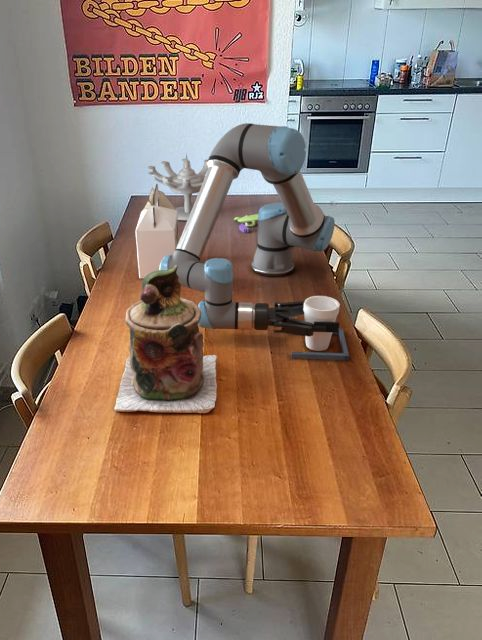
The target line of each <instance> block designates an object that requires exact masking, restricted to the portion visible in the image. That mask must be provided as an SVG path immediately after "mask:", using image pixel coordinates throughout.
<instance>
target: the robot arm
mask: <svg viewBox="0 0 482 640" xmlns="http://www.w3.org/2000/svg"><path fill="white" fill-rule="evenodd" d="M304 138H305V137H304V136H303V134H302V133H301V132H300V131H299V130H297V128H293V127H288V126H285V125H284V126H283V125H282V126H280V125H267V124H256V123H247V122H246V123H240V124H239V125H236V126H234V127H232V128H231V129H230V130H228V131H227V132H226V133H225V134H224V135H222V137H221V138H220V139H219V140H218V141H217V142H216V144H215V146H214V147H213V149H212V151H211V152H210V155H209V157H208V159H207V160H208V161H207V167H208V171H207V172H206V174H205V179H204V181H203V183H202V186H201V188H200V191H199V192H198V193H197V196H196V199H195V201H194V204H193V205H192V206H193V208H192V211H191V213H190V216H189V218H188V221H186V223H185V226H184V228H183V231H182V233H181V236H180V237H179V243H178V245H177V248H176V250H175V252H174V255H167V256H165V257H164V259H162V261H161V263H160V266H159V270H171V269H173V268H174V266H175V265H178V267H177V271H176V273H177V275H178V276H179V278H178V281H179V282H180V283H181V287H183V288H187V289H191V290H194V291H197V292H198V291H199V292H201V293H203V294H204V300H201V301H200V302H198V305H197V306H198V307H199V309H200V310H201V319H200V321H199V324H198V327H200V328H201V329H210V330H211V329H212V330H241V331H245V330H246V331H248V330H249V331H252V330H253V329H254V330H255V331H267V330H269V327H272V328H274V329H273V332H274V333H275V334H278V333H279V334H288V335H296V336H302V337H303V336H304V337H305V336H313V332H334V333H338V330H339V328H340V322H339V321H335V322H314V324H313V323H310V322H306V321H305V320H301V319H298V318H295V317H298V316H302V315H303V316H304V311H303V308H304V301H305V300H300V301H299V300H298V301H286V302H279V301H278V302H277V301H275V302H273V307H270V305H269V303H268V302H256V303H255V304H254V302H252V301H251V302H248V301H247V302H243V301H240V302H238V301H233V300H234V299H233V297H234V294H233V293H234V292H233V291H234V270H233V269H234V268H233V263H232V262H231V261H230V259H229V260H228V259H226V258H224V257H221V258H218V257H213V258H210V259H207V260H206V261H205V262H201V261H202V257H203V254H204V252H205V250H206V247H207V245H208V243H209V240H210V238H211V235H212V232H213V230H214V227H215V225H216V222H217V220H218V217H219V215H220V213H221V210H222V208H223V206H224V203H225V201H226V198H227V196H228V193H229V190H230V188H231V186H232V184H233V181H234V180H237V179H238V177H239V176H240V173H241V172H242V170H243V169H248V170H252V171H253V170H255V171H259V172H260V174H261V176H262V177H263V179H264V180H265V182H266V183H268V184H270V185H273V187H274V190H275V191H276V193H277V196H278V197H279V199H280V201H278V202H270V203H267V204H265V205H262V206H261V207H260V208H259V209H258V213H257V214H258V222H257V236H256V237H257V241H256V250H255V252H254V255H253V258H252V260H251V263H250V264H251V267H250V268H251V271H252V272H253V273H254V274H257V275H259V276H262V277H268V278H278V277H279V278H280V277H285V276H288V275H290V274H292V273H293V272H294V270H295V262H294V260H293V255H292V251H291V248H292V247H296V248H301V249H305V250H309V251H313V252H324V251H325V250H326V249H327V248H329V245H330V243H331V240H332V239H333V234H334V231H335V225H336V223H335V221H336V220H335V218H334V217H333V216H330V215H325V213H324V212H323V209H322V208H321V207H320V206H319V205H317V204H315V203H314V200H313V198H312V196H311V192H310V191H309V188H308V186H307V185H308V184H307V183H306V180H305V178H304V176H303V173H302V171H301V170H302V168H303V166H304V163H305V160H306V156H307V155H306V154H307V151H306V147H307V146H306V141H305V139H304Z"/></svg>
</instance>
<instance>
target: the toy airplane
mask: <svg viewBox="0 0 482 640" xmlns="http://www.w3.org/2000/svg"><path fill="white" fill-rule="evenodd" d="M258 214H259V213H254V214H250V215H247V214H245V215H244V216H235V217H234V219H233V221H235V222H238V223H241V224H239V225H238V231H241V233H243V234H245V233H248V234H249V233H250V228H251V227H255V226H256V223H258Z"/></svg>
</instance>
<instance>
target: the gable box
mask: <svg viewBox="0 0 482 640" xmlns="http://www.w3.org/2000/svg"><path fill="white" fill-rule="evenodd" d="M149 193H150V194H149V197H148V200H147V202H146V203H145V205H144V208H143V209H142V210H141V211H140V214H139V217H138V221H137V225H136V228H135V242H136V243H135V244H136V253H137V267H138V277H139V279H141V280H143V279H144V277H145V276H146V275H147V274H149V273H151V272H153V271H158V270H159V266H160V263H161V261H162V259H164V257H165V256H167V255H174V252H175V250H176V248H177V245H178V243H179V240H180V237H179V220H178V211H177V210H176V209H175V208H176V207H175V205H173V203H172V202H171V200H170V198H168V196H167V195H166V193H164V191H161V190H159V184H158V183H156V184H155V188H154V186H151V190H150V192H149Z"/></svg>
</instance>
